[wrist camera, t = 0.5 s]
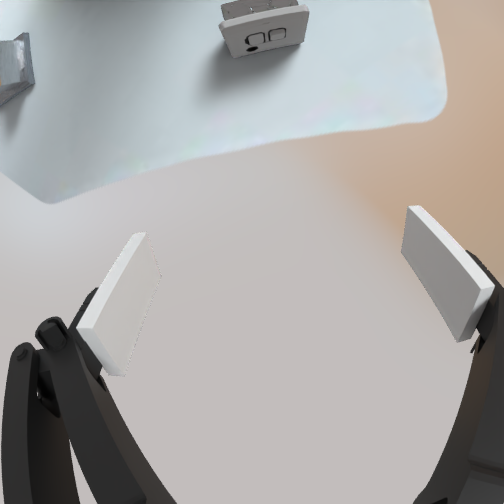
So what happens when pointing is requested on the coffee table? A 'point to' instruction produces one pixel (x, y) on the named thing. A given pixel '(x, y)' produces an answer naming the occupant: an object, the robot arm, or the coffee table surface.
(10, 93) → the plate
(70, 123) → the coffee table surface
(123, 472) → the robot arm
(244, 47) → the electrical switch
